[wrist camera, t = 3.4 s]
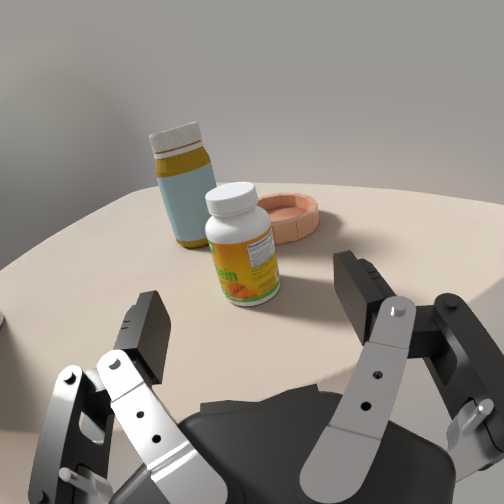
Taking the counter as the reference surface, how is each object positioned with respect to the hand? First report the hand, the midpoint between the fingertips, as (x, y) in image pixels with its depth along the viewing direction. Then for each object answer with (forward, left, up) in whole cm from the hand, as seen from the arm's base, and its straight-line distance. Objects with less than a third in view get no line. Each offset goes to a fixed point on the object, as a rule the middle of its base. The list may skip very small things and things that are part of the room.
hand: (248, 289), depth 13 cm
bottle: (+19, +18, -9) cm, 27 cm away
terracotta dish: (+23, +8, -9) cm, 26 cm away
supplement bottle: (+10, +6, -9) cm, 14 cm away
